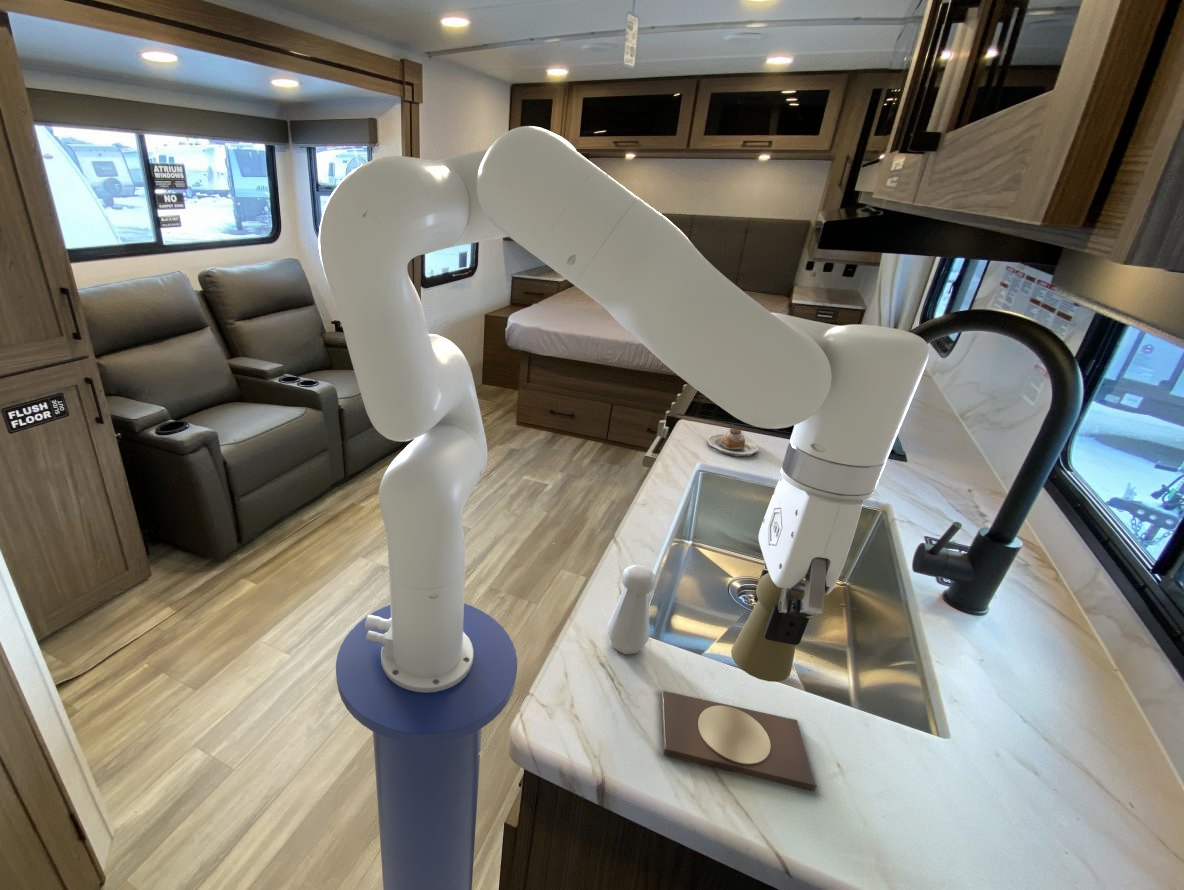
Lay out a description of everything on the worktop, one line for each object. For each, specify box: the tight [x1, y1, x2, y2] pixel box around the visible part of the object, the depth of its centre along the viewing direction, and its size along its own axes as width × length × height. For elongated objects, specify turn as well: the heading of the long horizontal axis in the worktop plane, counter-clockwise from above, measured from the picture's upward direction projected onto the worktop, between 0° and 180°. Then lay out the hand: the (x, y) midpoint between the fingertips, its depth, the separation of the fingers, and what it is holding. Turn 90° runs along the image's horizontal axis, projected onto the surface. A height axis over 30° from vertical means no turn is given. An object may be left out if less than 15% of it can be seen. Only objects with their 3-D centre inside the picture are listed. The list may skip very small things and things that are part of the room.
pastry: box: [707, 428, 759, 458], centre depth 144 cm, size 12×12×5 cm
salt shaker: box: [606, 564, 657, 655], centre depth 79 cm, size 6×6×13 cm
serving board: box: [660, 690, 818, 792], centre depth 68 cm, size 16×9×1 cm, turn 75°
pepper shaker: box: [730, 572, 805, 683], centre depth 60 cm, size 6×6×11 cm
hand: (775, 619), depth 60 cm, fingers closed on pepper shaker, 5 cm apart
